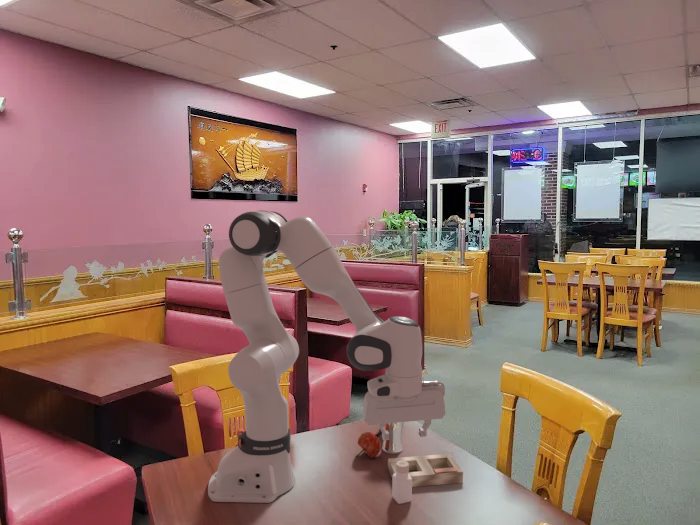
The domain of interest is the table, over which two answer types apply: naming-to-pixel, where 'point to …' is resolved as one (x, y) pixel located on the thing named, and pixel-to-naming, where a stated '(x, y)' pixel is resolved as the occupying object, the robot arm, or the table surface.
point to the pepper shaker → (402, 483)
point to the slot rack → (430, 469)
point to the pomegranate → (370, 444)
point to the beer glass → (393, 438)
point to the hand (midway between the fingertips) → (404, 437)
